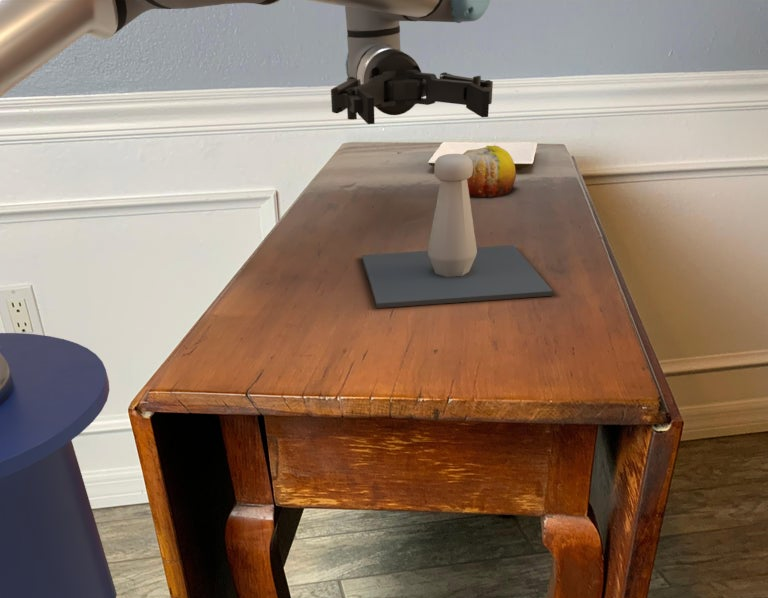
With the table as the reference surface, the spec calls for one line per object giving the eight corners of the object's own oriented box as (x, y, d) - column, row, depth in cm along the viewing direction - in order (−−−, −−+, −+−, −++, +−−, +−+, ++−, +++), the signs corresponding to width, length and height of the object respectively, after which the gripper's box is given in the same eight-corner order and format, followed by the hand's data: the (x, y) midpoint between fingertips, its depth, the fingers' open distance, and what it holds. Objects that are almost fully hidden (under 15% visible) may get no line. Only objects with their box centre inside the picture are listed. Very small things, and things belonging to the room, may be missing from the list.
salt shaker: (480, 277, 93) (484, 159, 86) (432, 280, 93) (432, 162, 86) (470, 262, 98) (473, 149, 91) (424, 265, 98) (424, 152, 90)
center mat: (376, 308, 88) (376, 303, 87) (362, 259, 103) (362, 254, 102) (552, 296, 89) (553, 290, 89) (513, 249, 104) (513, 244, 104)
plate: (441, 152, 158) (442, 141, 157) (536, 153, 155) (537, 141, 153) (427, 173, 143) (427, 161, 142) (532, 174, 140) (532, 162, 138)
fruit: (453, 179, 137) (468, 130, 132) (510, 199, 136) (527, 151, 131) (440, 192, 128) (455, 141, 123) (500, 214, 127) (518, 164, 122)
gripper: (476, 105, 112) (529, 136, 95) (300, 116, 108) (323, 149, 91) (479, 44, 107) (535, 65, 91) (296, 52, 103) (319, 76, 87)
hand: (429, 107), depth 91 cm, fingers open, 13 cm apart
